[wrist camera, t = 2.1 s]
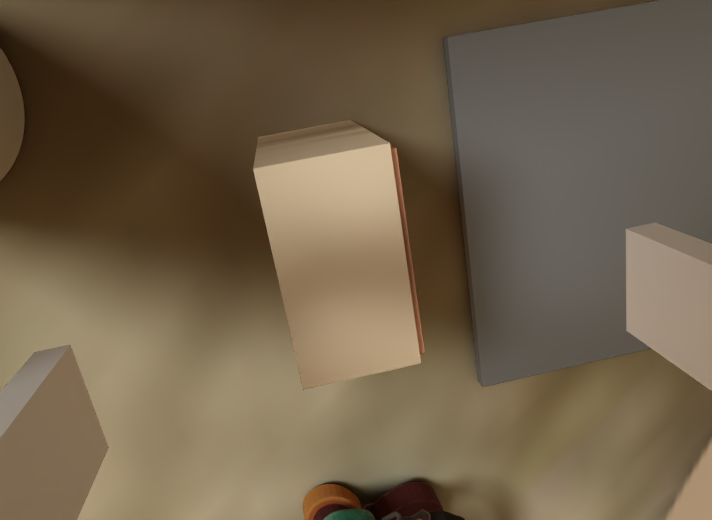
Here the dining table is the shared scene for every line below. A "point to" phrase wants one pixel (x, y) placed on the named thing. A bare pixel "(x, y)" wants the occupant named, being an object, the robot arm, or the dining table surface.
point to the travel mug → (9, 116)
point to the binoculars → (375, 504)
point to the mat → (575, 172)
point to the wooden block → (340, 250)
